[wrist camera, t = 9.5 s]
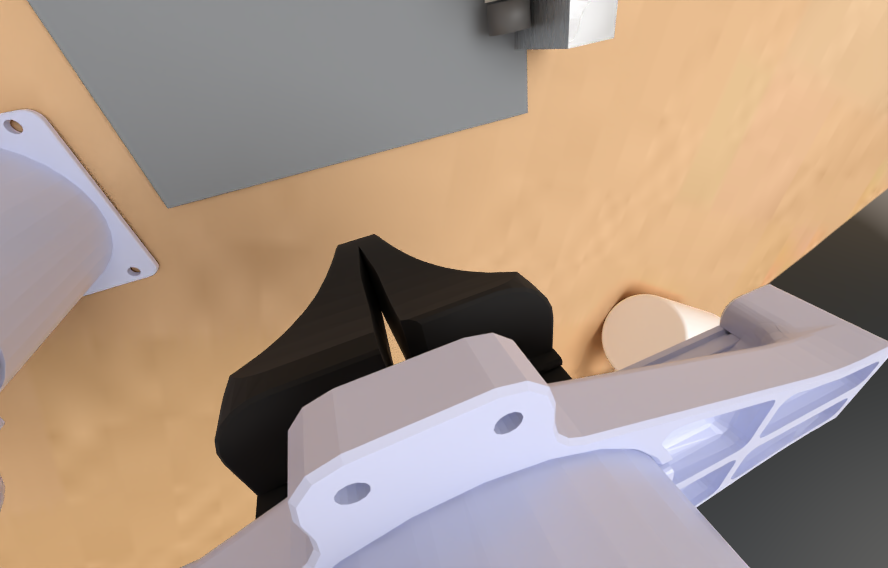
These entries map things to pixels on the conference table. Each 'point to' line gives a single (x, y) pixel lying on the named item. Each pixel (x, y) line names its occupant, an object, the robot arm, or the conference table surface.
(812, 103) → the conference table surface
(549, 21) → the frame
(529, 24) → the block
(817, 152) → the conference table surface
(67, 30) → the mat
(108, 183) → the conference table surface
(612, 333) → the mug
